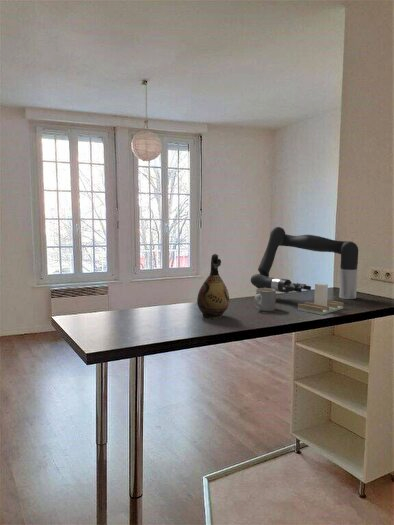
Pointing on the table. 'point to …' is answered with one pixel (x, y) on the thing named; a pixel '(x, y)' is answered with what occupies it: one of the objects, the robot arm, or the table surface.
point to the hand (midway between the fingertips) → (306, 289)
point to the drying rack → (320, 307)
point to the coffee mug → (265, 299)
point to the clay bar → (321, 294)
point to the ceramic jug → (213, 293)
